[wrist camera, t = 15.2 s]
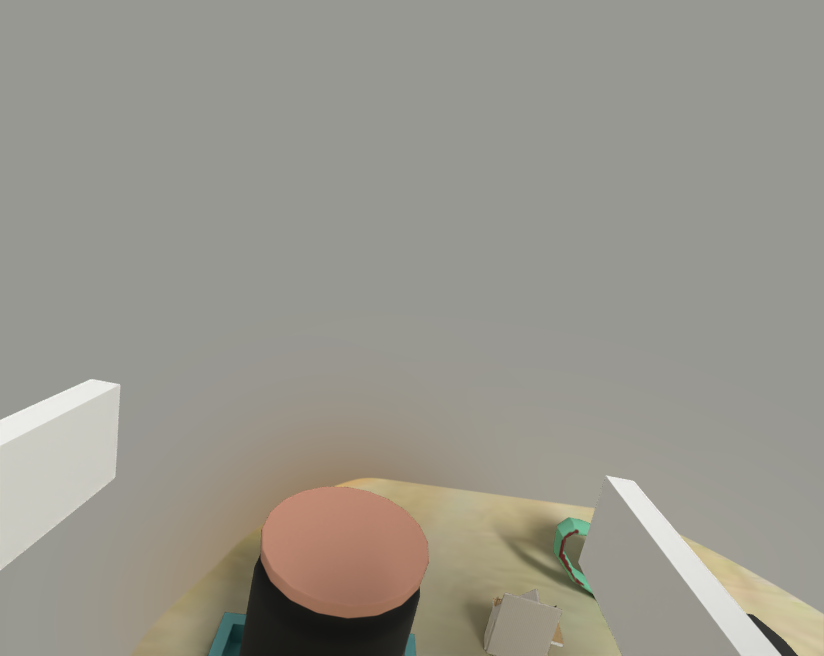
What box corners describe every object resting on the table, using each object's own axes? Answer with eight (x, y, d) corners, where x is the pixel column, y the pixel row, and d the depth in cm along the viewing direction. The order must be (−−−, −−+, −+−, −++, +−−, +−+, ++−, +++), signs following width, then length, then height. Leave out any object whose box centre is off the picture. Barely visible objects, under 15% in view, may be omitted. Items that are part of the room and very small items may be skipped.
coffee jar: (268, 906, 25) (327, 642, 21) (194, 733, 31) (229, 512, 28) (402, 766, 32) (463, 556, 29) (320, 652, 39) (360, 471, 36)
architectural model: (482, 626, 47) (500, 567, 46) (547, 646, 47) (567, 587, 45) (483, 655, 44) (502, 593, 42) (552, 677, 43) (575, 615, 42)
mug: (633, 577, 60) (658, 513, 58) (676, 644, 50) (707, 569, 48) (528, 557, 59) (550, 491, 57) (551, 620, 49) (578, 544, 47)
